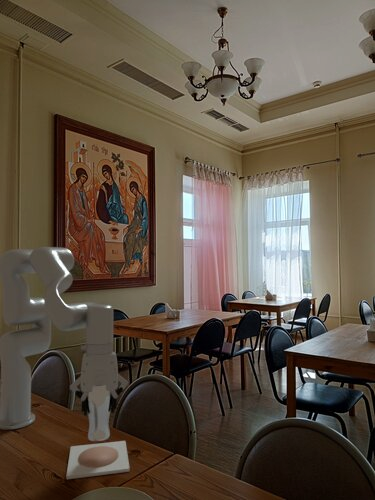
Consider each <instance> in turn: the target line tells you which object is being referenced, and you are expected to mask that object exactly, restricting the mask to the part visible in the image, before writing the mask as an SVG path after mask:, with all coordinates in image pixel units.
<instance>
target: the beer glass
mask: <svg viewBox="0 0 375 500" xmlns="http://www.w3.org/2000/svg"><path fill="white" fill-rule="evenodd" d="M111 399H112V393H111V391H107V390H106V385H102V386H93V389H92V392H88V394H87V397H86V400H87V417H88V423H89V427H88V434H87V439H88V440H90V441H92V442H102V441H106V440H108V438H110V436H111V432H110V431H111V430H110V425H109V419H110V415H111V414H110V413H111Z"/></svg>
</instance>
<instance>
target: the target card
mask: <svg viewBox="0 0 375 500" xmlns="http://www.w3.org/2000/svg"><path fill="white" fill-rule="evenodd" d="M126 441H127V440H119V441H110V442H102V443H91V444H83V445H82V444H80V445H72V446H70V450H69V456H68V464H67V470H66V476H65V477H66V479H65V480H72V479H79V478H87V477H88V478H89V477H95V476H97V477H99V476H105V475H112V474H119V473H128V472H130V468H131V467H130V463H129V462H130V461H129V456H128V449H127V442H126Z"/></svg>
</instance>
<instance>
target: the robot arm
mask: <svg viewBox="0 0 375 500" xmlns="http://www.w3.org/2000/svg"><path fill="white" fill-rule="evenodd" d="M0 256H1V257H0V280H1V284H2V308H3V311H2V312H3V321H4V323H5V325H7V326H9V327H19V326H26V325H27V326H28V325H32V327H28V328H20V329H14V330H11V331H7V332H5V333H3V335H1V337H0V367H1V368H0V370H1V371H0V375H1V376H0V430H5V431H7V430H16V429H22V428H24V427H27V426H30V425H31V424H33V422H35V421H36V415H35V414H34V413H33V412H31V410H32V408H31V407H32V406H31V404H32V403H31V402H32V399H31V397H32V395H31V394H32V369H31V368H32V367H31V365H30V364H29V362H28V361H27V360H26V357H29V356H34V355H38V354H43V353H45V352H46V351H48V350H49V348H50V346H51V343H52V323H53V325H54V326H55V327H56V328H57V329H58V330H60V331H64V332H69V331H75V330H80V329H86V331H85V332H86V335H85V336H86V337H85V339H86V341H85V344H82V345H80V351H84V352H85V353H84V354H83V356H82V360H81V368H80V369H81V370H80V376H79V377H78V378H77V379H76V380H75V381H74V382H72V383H71V384H70V385H69V390H71V391H72V392H73V394H75V396H77V398H78V399H80V401H81V413H82V412H84V413H83V415H84V416H85V417H86V416H88V411H87V400H86V397H87V394H88V392H92V389H93V386H102V385H106V390H107V391H111V393H112V399H111V409H110V413H111V414H115V410H117V406H118V405H117V400H118V399H117V398H119V397H118V396H120V394H122V393H123V391H124V390H125V388H126V387H127V386H128V385H129V382H128V380H127V379H126V378H124V377H123V376H122V375H120V374H119V368H118V358H117V353H116V352H115V351H114V308H113V306H112V305H111V304H110V305H109V304H104V303H103V304H99V303H96V302H93V301H87V302H86V301H85V302H75V303H73V302H72V303H67V304H66V302H64V301H63V299H62V298H61V296H60V295H61V294H63V293H64V292H66V291H67V290H68V289H69V288H70V287H71V286H72V284H73V280H74V278H73V275H72V273H71V272H70V271H71V270H72V269H73V268H74V266H75V257H74V254H73V253H72V252H71V250H70V249H68V248H66V247H60V246H59V247H58V246H40V247H36V248H35V249H30V248H29V249H26V248H25V249H24V248H23V249H22V248H21V249H19V248H16V249H10V250H7V251H5V252H4V253H2V255H0ZM30 274H34V275H35V274H36V275H37V276H38V278H39V280H40V281H41V283H42V284H43V285H44V287H45V288H46V291H45V292H44V293H45V294H44V296H43V297H44V298H43V297H40V296H39V297H38V296H37V297H36V296H35V297H31V295H30V284H29V283H28V280H27V279H26V278H25V277H24V275H30ZM119 383H121V384H120V385H119ZM79 385H80V389H79V388H78V386H79Z"/></svg>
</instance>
